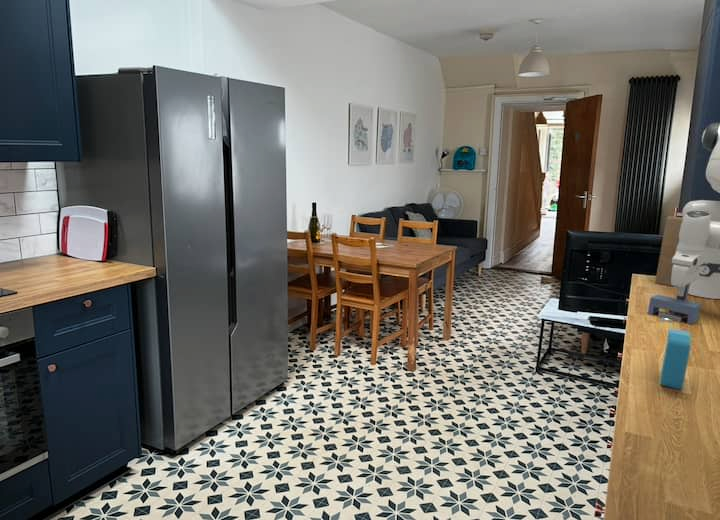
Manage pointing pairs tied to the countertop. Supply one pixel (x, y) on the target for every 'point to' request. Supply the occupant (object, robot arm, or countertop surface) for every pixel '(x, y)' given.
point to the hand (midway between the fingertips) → (682, 295)
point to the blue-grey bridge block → (675, 307)
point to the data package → (676, 359)
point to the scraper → (673, 313)
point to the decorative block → (668, 250)
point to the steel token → (666, 319)
